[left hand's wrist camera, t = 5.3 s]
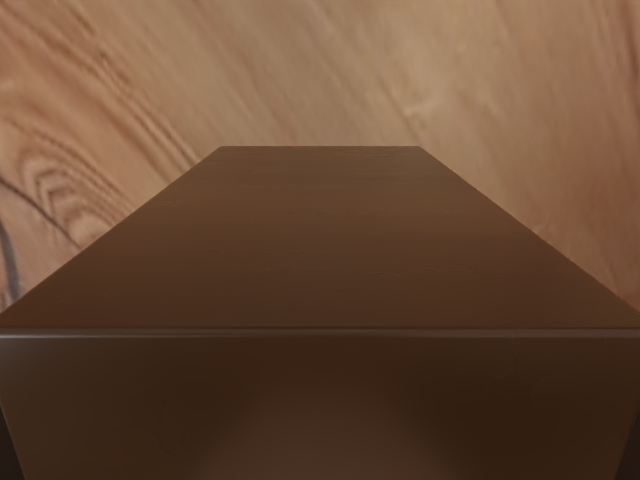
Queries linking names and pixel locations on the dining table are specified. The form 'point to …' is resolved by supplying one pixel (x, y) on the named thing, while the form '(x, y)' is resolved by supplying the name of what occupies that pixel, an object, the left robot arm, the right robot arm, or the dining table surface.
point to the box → (320, 334)
